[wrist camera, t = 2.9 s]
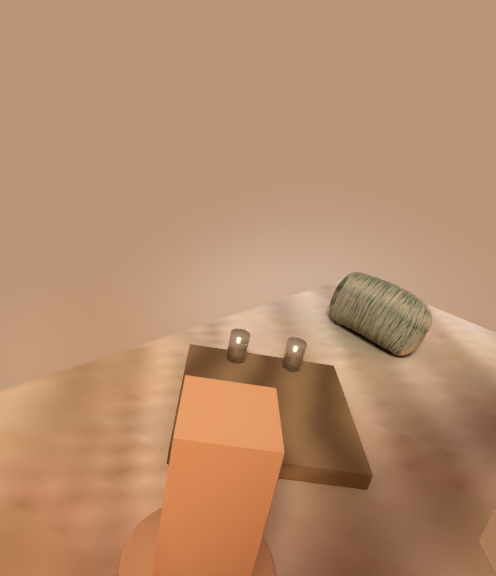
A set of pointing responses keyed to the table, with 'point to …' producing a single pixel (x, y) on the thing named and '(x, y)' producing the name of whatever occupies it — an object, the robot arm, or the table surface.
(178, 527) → the tall pillar on disc
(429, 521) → the table surface
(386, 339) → the spool
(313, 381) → the plate
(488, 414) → the table surface
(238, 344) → the dowels
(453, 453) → the table surface
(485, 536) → the robot arm
